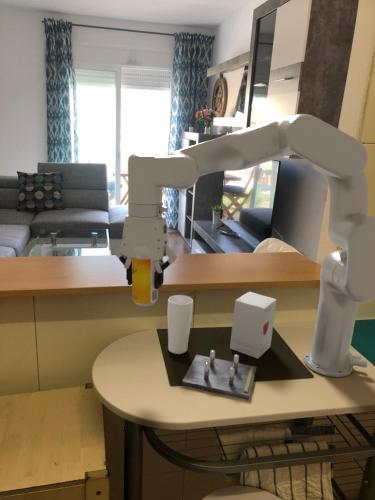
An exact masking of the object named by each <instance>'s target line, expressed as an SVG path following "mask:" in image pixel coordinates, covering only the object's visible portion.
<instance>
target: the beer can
mask: <svg viewBox="0 0 375 500" xmlns="http://www.w3.org/2000/svg"><path fill="white" fill-rule="evenodd" d="M155 273H156V267H155V264H154V261H152V260H151V258H150V253H149V249H148V248H147V247H146V246H145V245H144V244H137V246H135V247H134V249H133V258H132V285H131V299H132V302H134V304H135V305H137V306H139V307H149V306H152V305H154V304H156V302H157V301H158V299H159V298H158V296H159V295H158V294H159V288H158V289H155V288H154V285H155Z"/></svg>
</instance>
